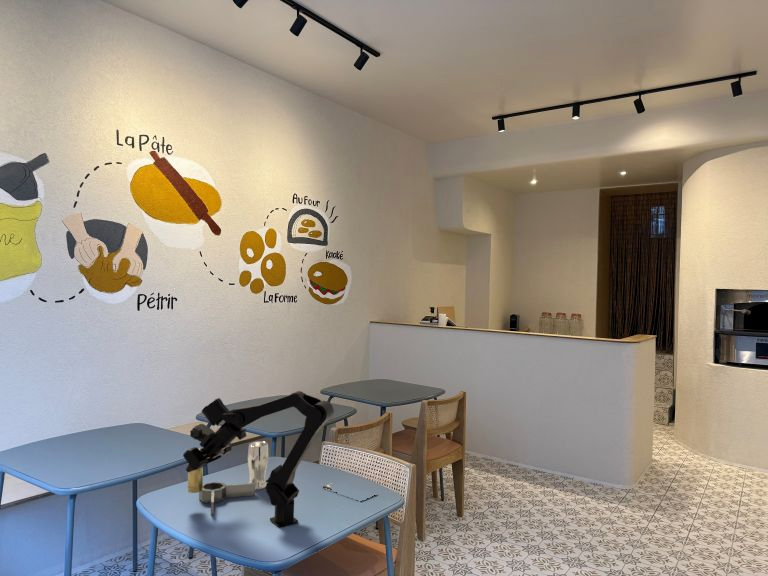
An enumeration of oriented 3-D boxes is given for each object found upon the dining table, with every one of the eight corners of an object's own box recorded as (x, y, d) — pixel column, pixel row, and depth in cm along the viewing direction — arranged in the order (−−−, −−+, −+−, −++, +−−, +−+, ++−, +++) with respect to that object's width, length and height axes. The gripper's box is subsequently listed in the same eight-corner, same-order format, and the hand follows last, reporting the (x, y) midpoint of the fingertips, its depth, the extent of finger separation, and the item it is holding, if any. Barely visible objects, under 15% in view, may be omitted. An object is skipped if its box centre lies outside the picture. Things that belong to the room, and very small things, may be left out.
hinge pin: (204, 490, 170) (205, 451, 171) (190, 493, 168) (191, 453, 168) (199, 486, 174) (200, 447, 174) (185, 489, 171) (186, 449, 171)
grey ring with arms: (265, 503, 177) (266, 490, 177) (211, 515, 166) (211, 502, 166) (245, 487, 190) (245, 475, 190) (193, 497, 179) (193, 485, 179)
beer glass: (254, 491, 186) (255, 448, 186) (242, 486, 191) (244, 443, 191) (271, 486, 191) (272, 444, 191) (259, 481, 196) (261, 440, 196)
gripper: (224, 410, 179) (194, 441, 182) (189, 423, 161) (156, 457, 164) (245, 436, 177) (214, 467, 180) (212, 453, 159) (178, 486, 162)
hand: (191, 468), depth 171 cm, fingers closed on hinge pin, 4 cm apart
